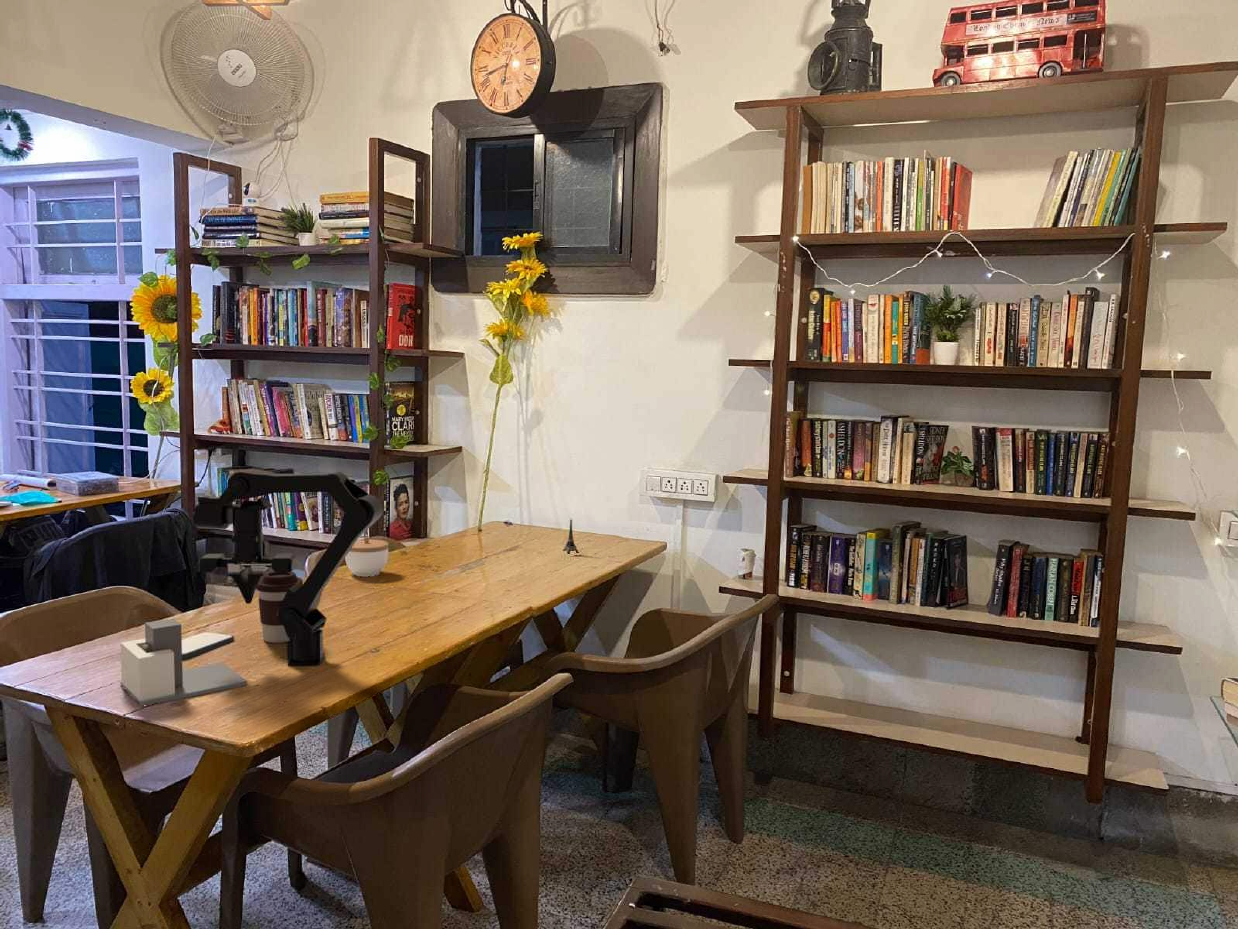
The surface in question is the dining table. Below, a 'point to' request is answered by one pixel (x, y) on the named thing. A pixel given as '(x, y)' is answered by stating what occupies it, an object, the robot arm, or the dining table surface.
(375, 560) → the lidded bowl
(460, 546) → the dining table surface
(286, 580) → the coffee cup
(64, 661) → the dining table surface
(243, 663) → the dining table surface
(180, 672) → the plug
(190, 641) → the smartphone
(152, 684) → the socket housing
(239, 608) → the dining table surface
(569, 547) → the eiffel tower figurine
